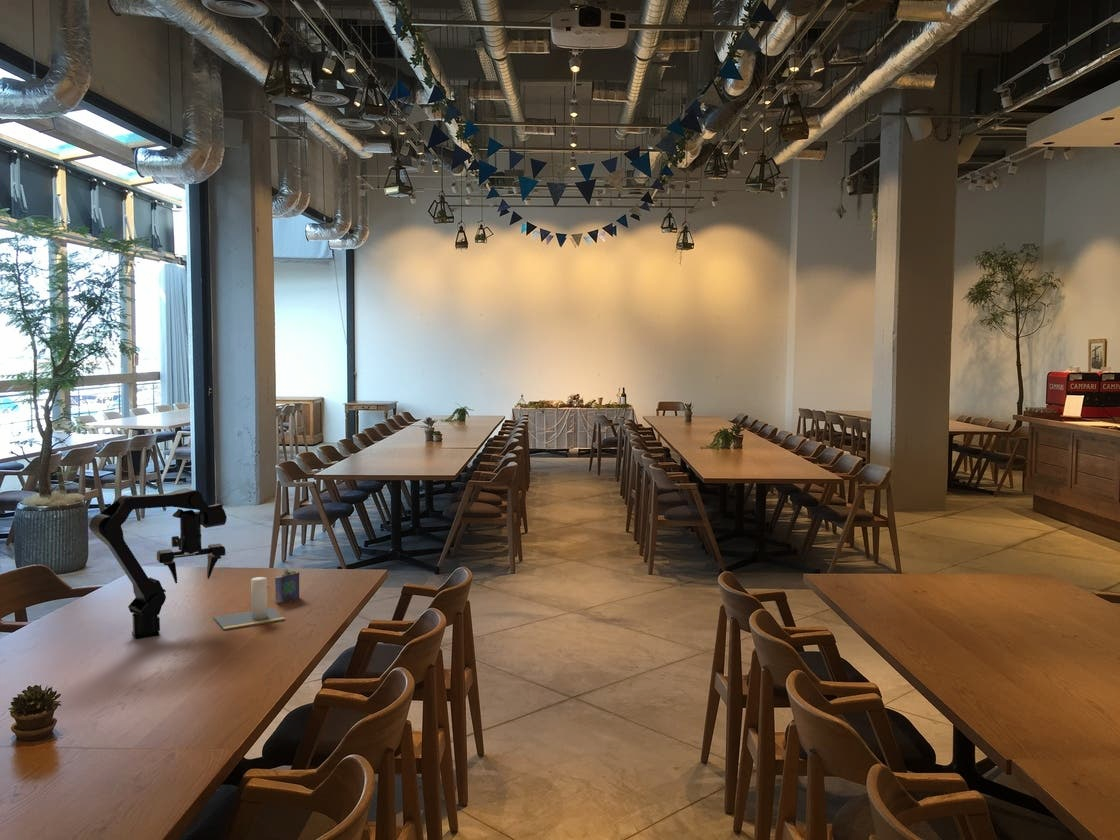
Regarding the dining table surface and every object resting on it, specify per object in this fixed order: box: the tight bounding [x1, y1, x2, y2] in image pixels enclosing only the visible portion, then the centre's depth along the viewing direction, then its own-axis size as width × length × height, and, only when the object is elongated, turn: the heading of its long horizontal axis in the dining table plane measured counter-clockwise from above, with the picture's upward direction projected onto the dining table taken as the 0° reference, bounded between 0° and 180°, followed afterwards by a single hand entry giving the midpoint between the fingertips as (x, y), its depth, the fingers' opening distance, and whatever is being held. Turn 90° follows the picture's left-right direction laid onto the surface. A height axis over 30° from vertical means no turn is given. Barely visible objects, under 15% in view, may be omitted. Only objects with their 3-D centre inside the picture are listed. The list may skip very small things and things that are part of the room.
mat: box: [213, 607, 286, 631], centre depth 269 cm, size 18×14×1 cm
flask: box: [274, 568, 300, 605], centre depth 289 cm, size 9×3×11 cm, turn 146°
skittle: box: [250, 576, 268, 619], centre depth 270 cm, size 5×5×12 cm
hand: (192, 580), depth 265 cm, fingers open, 9 cm apart
